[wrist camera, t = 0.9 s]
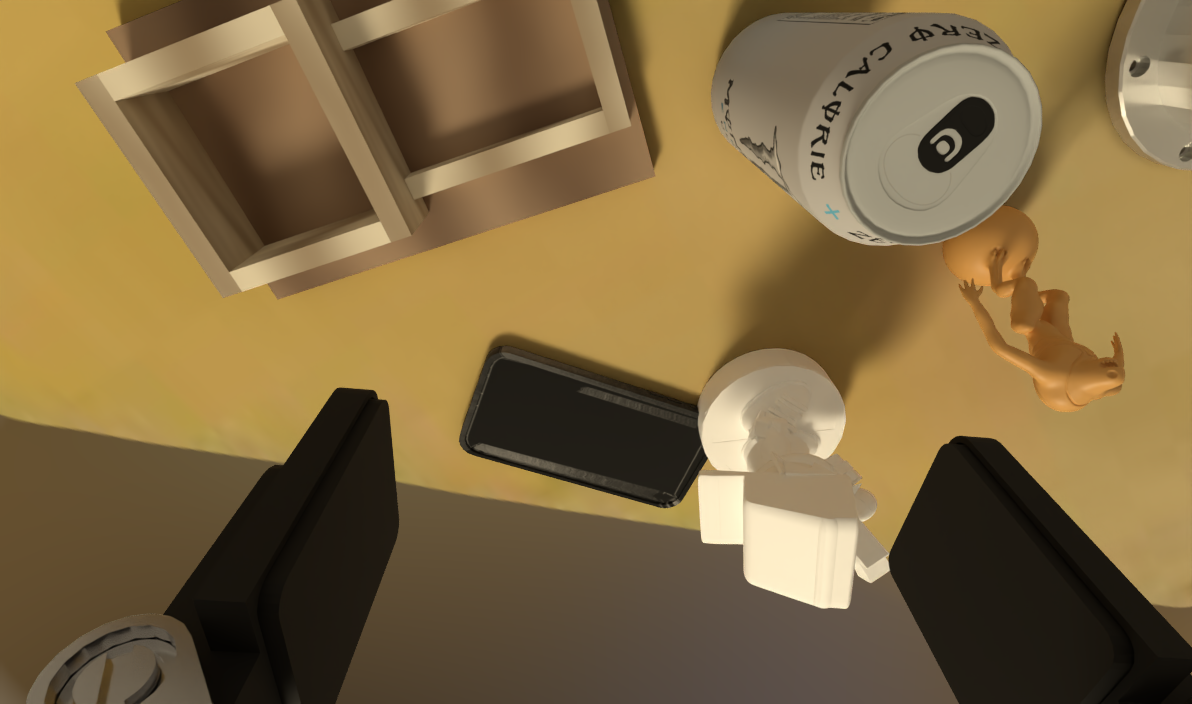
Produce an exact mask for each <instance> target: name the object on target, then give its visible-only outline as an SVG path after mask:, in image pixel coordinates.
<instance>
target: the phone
mask: <svg viewBox="0 0 1192 704" xmlns="http://www.w3.org/2000/svg"><path fill="white" fill-rule="evenodd" d="M698 416H699V412H698V407H697V406H694V405H691V404H688V403H685V402H682V401H679V400H676V399H673V398H670V397H666V396H664V395H661V394H658V393H655V392H652V391H648V390H645V389H641V388H638V387H635V386H632V385H629V384H626V383H623V382H620V381H617V380H614V379H610V378H607V377H604V376H601V375H598V374H595V373H592V372H589V371H586V370H583V369H579V368H576V367H573V366H570V365H567V364H564V363H561V362H558V361H555V360H552V359H548V358H545V357H542V356H539V355H536V354H533V353H530V352H527V351H524V350H520V349H517V348H514V347H510V346H499V347H497V348H494V349H493V350H492V351H490V352H489V354H488V356H487V358H486V361H485V364H484V366H483V369H482V372H481V375H480V378H479V381H478V384H477V386H476V389H475V392H474V395H473V398H472V401H471V404H470V407H469V409H468V412H467V415H466V418H465V421H464V424H463V427H462V430H461V433H460V438H459V442H460V445H461V447H462V448H463V450H465V451H466V452H467V453H469V454H472V455H474V456H478V457H481V458H485V459H489V460H492V461H496V462H499V463H503V464H506V465H510V466H514V467H517V468H521V469H524V470H528V471H531V472H535V473H539V474H542V475H546V476H549V477H553V478H556V479H560V480H563V481H567V482H571V483H574V484H578V485H581V486H585V487H588V488H592V489H596V490H599V491H603V492H606V493H610V494H613V495H617V496H621V497H624V498H628V499H631V500H635V501H638V502H642V503H646V504H649V505H653V506H656V507H660V508H670V507H673V506H676V505H677V504H679V503H680V502H681V501H682V500H683V498H684V496H685V495H686V493H687V492H688V490H689V488H690V487H691V485H692V483H693V482H694V480H695V479H696V477H697V475H698V474H699V471H700V470H701V469H702V467H703V466H704V464H705V462H706V461H707V459H708V457H707V455H706V454H705V451H704V448H703V445H702V442H701V438H700V434H699V428H698Z"/></svg>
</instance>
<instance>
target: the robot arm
mask: <svg viewBox="0 0 1192 704" xmlns="http://www.w3.org/2000/svg"><path fill="white" fill-rule="evenodd" d="M1105 90H1106V104H1107V107H1108V110H1109V114H1110V117H1111V121H1112V124H1113V126H1114V127H1115V129H1116V131H1117V132H1118V134H1119V135H1120V137H1121V139H1122V140H1123V142H1124V143H1126V144H1127V145H1128V146H1129V147H1130V148H1131V149H1132V150H1133V151H1135V152H1136V153H1137V154H1138V155H1140V156H1142V157H1144V158H1146V159H1148V160H1151V161H1153V162H1155V163H1157V164H1161V165H1165V166H1168V167H1172V168H1176V169H1180V170H1192V0H1127V2H1126V4H1125V6H1124V8H1123V10H1122V13H1121V15H1120V17H1119V19H1118V22H1117V25H1116V28H1115V31H1114V34H1113V38H1112V41H1111V44H1110V47H1109V51H1108V59H1107V66H1106V73H1105ZM397 504H398V503H397V492H396V481H395V470H394V459H393V448H392V437H391V426H390V415H389V406H388V402H387V401H386V400H379V399H378V397H377V394H376V392H375V391H374V390H365V389H352V388H337V389H336V390H335V391H334V392H333V393H332V395H331V396H330V398H329V399H328V401H327V402H326V404H325V405H324V407H323V408H322V409H321V411H320V412H319V414H318V415H317V417H316V418H315V420H314V421H313V423H312V424H311V426H310V427H309V429H308V430H307V431H306V433H305V434H304V436H303V437H302V439H301V440H300V442H299V443H298V445H297V446H296V448H295V449H294V451H293V452H292V454H291V455H290V456H289V458H288V459H287V461H286V462H285V464H284V465H274V466H272V467H270V468H269V469H268V470H267V471H266V472H265V473H264V474H263V475H262V476H261V478H260V479H259V481H258V482H257V484H256V485H255V486H254V488H253V489H252V491H251V492H250V493H249V495H248V496H247V498H246V499H245V500H244V502H243V503H242V505H241V506H240V508H239V509H238V510H237V512H236V513H235V514H234V516H233V517H232V519H231V520H230V521H229V523H228V524H227V526H226V527H225V529H224V530H223V531H222V533H221V534H220V536H219V537H218V538H217V540H216V541H215V543H214V544H213V545H212V547H211V548H210V549H209V551H208V552H207V554H206V555H205V556H204V558H203V559H202V561H201V562H200V564H199V565H198V566H197V568H196V569H195V571H194V572H193V573H192V575H191V576H190V578H189V579H188V580H187V582H186V583H185V585H184V586H183V587H182V589H181V590H180V592H179V593H178V594H177V596H176V597H175V599H174V600H173V601H172V603H171V604H170V606H169V607H168V609H167V610H166V611H165V613H164V614H163V615H159V614H152V613H151V614H143V615H134V616H128V617H125V618H122V619H119V620H116V621H113V622H110V623H107V624H104V625H102V626H100V627H99V628H97V629H95V630H93V631H91V632H89V633H87V634H85V635H83V636H81V637H80V638H78V639H77V640H76V641H74V642H73V643H72V644H70V645H69V646H68V647H66V648H65V649H64V650H62V651H61V652H60V653H58V654H57V655H56V657H55V658H54V659H53V660H52V661H51V662H50V663H49V664H48V665H47V666H46V667H45V668H44V669H43V671H42V672H41V673H40V674H39V676H38V678H37V679H36V681H35V683H34V684H33V686H32V688H31V690H30V691H29V693H28V697H27V702H26V704H335V703H336V700H337V697H338V695H339V692H340V689H341V687H342V684H343V681H344V679H345V676H346V673H347V671H348V668H349V665H350V663H351V660H352V657H353V654H354V652H355V649H356V646H357V644H358V641H359V638H360V636H361V633H362V630H363V627H364V625H365V622H366V620H367V617H368V614H369V611H370V609H371V606H372V603H373V601H374V598H375V596H376V593H377V590H378V587H379V584H380V582H381V579H382V577H383V574H384V571H385V569H386V566H387V563H388V561H389V558H390V555H391V553H392V550H393V547H394V545H395V542H396V539H397V534H398V528H399V514H398V505H397ZM889 569H890V572H891V575H892V577H893V579H894V581H895V582H896V584H897V586H898V588H899V590H900V592H901V594H902V596H903V598H904V600H905V602H906V603H907V605H908V607H909V609H910V611H911V613H912V615H913V617H914V619H915V621H916V622H917V624H918V626H919V628H920V630H921V632H922V633H923V636H924V638H925V639H926V642H927V643H928V645H929V647H930V649H931V651H932V653H933V655H934V657H935V658H936V661H937V662H938V664H939V666H940V668H941V670H942V672H943V674H944V676H945V678H946V680H947V682H948V683H949V685H950V687H951V689H952V691H953V693H954V695H955V697H956V699H957V700H958V702H959V704H1192V675H1191V674H1190V673H1191V672H1192V647H1191V646H1190V645H1189V644H1188V643H1187V642H1186V641H1185V640H1184V639H1183V638H1182V637H1181V636H1180V634H1179V633H1178V632H1177V631H1176V630H1175V629H1174V628H1173V627H1172V626H1171V625H1170V624H1169V623H1168V622H1167V621H1166V619H1165V618H1164V617H1163V616H1162V615H1161V614H1160V613H1159V612H1158V611H1157V610H1156V609H1155V608H1154V607H1153V606H1152V604H1151V603H1150V602H1149V601H1148V600H1147V599H1146V598H1145V597H1144V596H1143V595H1142V594H1141V593H1140V592H1139V591H1138V590H1137V588H1136V587H1135V586H1134V585H1133V584H1132V583H1131V582H1130V581H1129V580H1128V579H1127V578H1126V577H1125V576H1124V575H1123V573H1122V572H1121V571H1120V570H1119V569H1118V568H1117V567H1116V566H1115V565H1114V564H1113V563H1112V562H1111V561H1110V560H1109V559H1108V557H1107V556H1106V555H1105V554H1104V553H1103V552H1102V551H1101V550H1100V549H1099V548H1098V547H1097V546H1096V545H1095V544H1094V542H1093V541H1092V540H1091V539H1090V538H1089V537H1088V536H1087V535H1086V534H1085V533H1084V532H1083V531H1082V530H1081V529H1080V528H1079V526H1078V525H1077V524H1076V523H1075V522H1074V521H1073V520H1072V519H1071V518H1070V517H1069V516H1068V515H1067V514H1066V513H1065V511H1064V510H1063V509H1062V508H1061V507H1060V506H1059V505H1058V504H1057V503H1056V502H1055V501H1054V500H1053V499H1052V498H1051V497H1050V495H1049V494H1048V493H1047V492H1046V491H1045V490H1044V489H1043V488H1042V487H1041V486H1040V485H1039V484H1038V483H1037V482H1036V480H1035V479H1034V478H1033V477H1032V476H1031V475H1030V474H1029V473H1028V472H1027V471H1026V470H1025V469H1024V468H1023V467H1022V466H1021V464H1020V463H1019V462H1018V461H1017V460H1016V459H1015V458H1014V457H1013V456H1012V455H1011V454H1010V453H1009V452H1008V451H1007V449H1006V448H1005V447H1004V446H1003V445H1002V444H1001V443H1000V442H998V441H997V440H995V439H991V438H981V437H968V436H957V437H955V438H953V439H952V440H951V441H950V442H949V443H948V444H944V445H943V446H942V447H941V448H940V450H939V451H938V453H937V455H936V458H935V460H934V462H933V464H932V466H931V468H930V470H929V472H928V474H927V476H926V478H925V480H924V482H923V484H922V487H921V489H920V491H919V493H918V495H917V497H916V499H915V501H914V503H913V505H912V507H911V509H910V511H909V514H908V516H907V518H906V520H905V522H904V524H903V526H902V528H901V530H900V532H899V534H898V536H897V538H896V540H895V543H894V545H893V547H892V549H891V551H890V554H889Z"/></svg>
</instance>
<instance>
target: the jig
mask: <svg viewBox="0 0 1192 704" xmlns="http://www.w3.org/2000/svg"><path fill="white" fill-rule="evenodd" d="M106 33H107V34H108V36H109V37H110V39H111V40H112V42H113V44H114V45H115V47H116V48H117V50H118V51H119V53H120V55H121V56H122V58H123V59H124V61H125V62H126V63H124V64H121V65H119V66H116V67H114V68H111V69H109V70H106V71H104V72H101V73H99V74H96V75H94V76H91V77H89V78H86V79H84V80H81V81H79V82H76V83H75V84H76V86H77V87H78V89H79V90H80V92H81V93H82V95H83V96H84V97H85V99H86V100H87V102H88V103H89V105H90V106H91V108H92V109H93V111H94V112H95V113H96V115H97V116H98V118H99V119H100V121H101V122H102V124H103V125H104V126H105V128H106V129H107V131H108V132H109V134H110V135H111V137H112V138H113V139H114V141H115V142H116V144H117V145H118V147H119V148H120V150H121V151H122V152H123V154H124V155H125V157H126V158H127V160H128V161H129V163H130V164H131V166H132V167H133V168H134V170H135V171H136V173H137V174H138V176H139V177H140V179H141V180H142V181H143V183H144V184H145V186H146V187H147V189H148V190H149V192H150V193H151V194H152V196H153V197H154V199H155V200H156V202H157V203H158V205H159V206H160V207H161V209H162V210H163V212H164V213H165V215H166V216H167V218H168V219H169V221H170V222H171V223H172V225H173V226H174V228H175V229H176V231H177V232H178V234H179V235H180V236H181V238H182V239H183V241H184V242H185V244H186V245H187V247H188V248H189V249H190V251H191V252H192V254H193V255H194V257H195V258H196V260H197V261H198V262H199V264H200V265H201V267H202V268H203V270H204V271H205V273H206V274H207V276H208V277H209V278H210V280H211V281H212V283H213V284H214V286H215V287H216V289H217V290H218V291H219V293H220V294H221V296H222V297H223V298H225V297H228V296H231V295H234V294H237V293H240V292H243V291H246V290H249V289H252V288H255V287H258V286H261V285H264V284H268V285H269V287H270V288H271V290H272V291H273V293H274V294H275V296H276V298H277V299H280V298H283V297H287V296H290V295H293V294H296V293H299V292H302V291H305V290H308V289H311V288H314V287H317V286H320V285H323V284H326V283H329V282H333V281H336V280H339V279H342V278H345V277H348V276H351V275H354V274H357V273H360V272H363V271H366V270H369V269H372V268H375V267H379V266H382V265H385V264H388V263H391V262H394V261H397V260H400V259H403V258H406V257H409V256H412V255H415V254H418V253H421V252H425V251H428V250H431V249H434V248H437V247H440V246H443V245H446V244H449V243H452V242H455V241H458V240H461V239H464V238H467V237H471V236H474V235H477V234H480V233H483V232H486V231H489V230H492V229H495V228H498V227H501V226H504V225H507V224H510V223H513V222H517V221H520V220H523V219H526V218H529V217H532V216H535V215H538V214H541V213H544V212H547V211H550V210H553V209H556V208H559V207H563V206H566V205H569V204H572V203H575V202H578V201H581V200H584V199H587V198H590V197H593V196H596V195H599V194H602V193H605V192H609V191H612V190H615V189H618V188H621V187H624V186H627V185H630V184H633V183H636V182H639V181H642V180H645V179H648V178H651V177H655V173H654V169H653V165H652V162H651V158H650V154H649V150H648V147H647V143H646V139H645V135H644V132H643V128H642V124H641V120H640V117H639V113H638V109H637V105H636V102H635V98H634V94H633V90H632V87H631V83H630V79H629V76H628V72H627V68H626V64H625V61H624V57H623V53H622V49H621V46H620V42H619V38H618V34H617V31H616V27H615V23H614V19H613V16H612V12H611V8H610V4H609V1H608V0H182V1H179V2H177V3H174V4H172V5H169V6H167V7H164V8H162V9H160V10H157V11H155V12H152V13H150V14H147V15H145V16H143V17H140V18H138V19H135V20H133V21H130V22H128V23H125V24H123V25H121V26H118V27H116V28H113V29H111V30H108V31H106Z"/></svg>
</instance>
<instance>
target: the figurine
mask: <svg viewBox="0 0 1192 704" xmlns="http://www.w3.org/2000/svg"><path fill="white" fill-rule="evenodd" d="M1037 250H1038V233H1037V230H1036V227H1035V225H1034V224H1033V222H1032V221H1031V220H1030V218H1029V217H1028V216H1027V215H1025V214H1024V213H1023V212H1021V211H1019V210H1018V209H1015V208H1013V207H1010V206H1006V205H1002V206H1001V207H1000V208H999V209H998V210H996V211H995V212H994V213H993V214H992V215H991V216H990V217H988V218H987V219H986V220H984V221H983V222H981V223H980V224H979V225H977V226H976V227H974V228H972V229H970V230H968V231H966V232H964V233H963V234H961V235H959V236H957V237H954V238H951V239H948V240H945V241H943V257H944V260H945V263H946V265H947V266H948V268H949V269H950V271H951V272H952V273H953V274H954V275H955V276H957V277H958V278H959V279H961V280H963V281H964V286H965V289H963V288H962V286H961V285H960V284H959V288H960V290H961V292H962V295H963V297H964V298H965V299H966V301H967V302H968V303H969V304H970V306H971V307H972V309H973V311H974V314H975V317H976V319H977V321H978V323H979V325H980V327H981V329H982V330H983V332H984V334H985V337H986V339H987V341H988V344H989V345H990V347H991V348H992V350H993V351H994V352H995V353H996V354H998V355H999V356H1001V357H1002V358H1004V359H1005V360H1007V361H1009V362H1010V363H1012V364H1014V365H1015V366H1017V367H1019V368H1021V369H1023V370H1024V371H1026V372H1027V373H1029V374H1030V375H1031V376H1032V377H1033V383H1034V387H1035V390H1036V392H1037V394H1038V396H1039V398H1040V399H1041V400H1042V402H1043V403H1045V404H1046V405H1047V406H1048V407H1050V408H1052V409H1054V410H1056V411H1060V412H1073V411H1077V410H1080V409H1082V408H1083V407H1085V406H1086V405H1087V404H1088V403H1089V402H1090V401H1092V400H1097V399H1100V398H1102V397H1104V396H1112V395H1116V394H1118V393H1119V392H1120V390H1121V388H1122V383H1123V382H1124V378H1125V371H1124V369H1123V367H1124V358H1123V349H1122V345H1121V342H1120V338H1119V337H1118V335H1117V333H1116V332H1115V336H1113V339H1114V342H1113V341H1111V343H1112V346H1113V347H1114V353H1115V354H1114V356H1113V358H1109V357H1105V358H1100V359H1098V358H1097V356H1096V355H1095V354H1094V352H1093V351H1091V350H1090V349H1088V348H1087V347H1085V346H1083V345H1080V344H1078V343H1074V340H1073V337H1072V333H1071V329H1070V326H1069V314H1068V303H1069V295H1068V294H1067V293H1066V292H1065V291H1062V290H1057V289H1052V290H1046V291H1040V292H1038V288H1037V284H1036V283H1035V281H1034V280H1032V279H1031V278H1028V277H1026V273H1027V271H1028V270H1029V268H1030V265H1031V263H1032V261H1033V260H1034V258H1035V256H1036V253H1037ZM967 283H970V284H971V287H969V286H968V284H967ZM975 285H980V286H981V288H980V289H979V290H978V291H976V289H975ZM983 286H991V287H992V290H993V292H995V293H996V294H997V295H998V296H999V297H1009V296H1011V295H1012V299H1011V304H1012V308H1011V313H1010V316H1011V328H1012V329H1013V330H1014V331H1015V332H1017V333H1020V334H1025V335H1026V337H1027V340H1028V343H1029V352H1030V354H1028V353H1026V352H1024V351H1021V350H1019V349H1017V348H1015V347H1012V346H1010V345H1008V344H1006V342H1005V341H1004V339H1003V338H1002V336H1001V335H1000V333H999V332H998V331H997V329H996V327H995V325H994V323H993V320H992V318H991V317H990V315H989V313H988V312H987V310H986V309H985V308H984V307H983V305H982V304H981V303H980V301H979V299H978V297H979V296H980V295H981V293H982V291H983ZM1045 303H1046V305H1045V306H1044V305H1043V304H1045ZM1114 343H1115V344H1114Z"/></svg>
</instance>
